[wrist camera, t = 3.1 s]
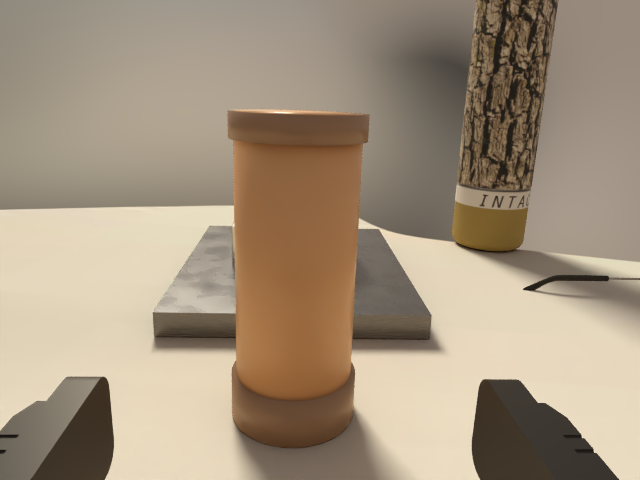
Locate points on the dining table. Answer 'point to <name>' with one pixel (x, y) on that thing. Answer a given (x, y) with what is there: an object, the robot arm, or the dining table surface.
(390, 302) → the plate
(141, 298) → the dining table surface
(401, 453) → the dining table surface
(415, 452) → the dining table surface
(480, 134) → the paper tube
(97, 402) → the robot arm
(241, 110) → the capped orange cylinder
